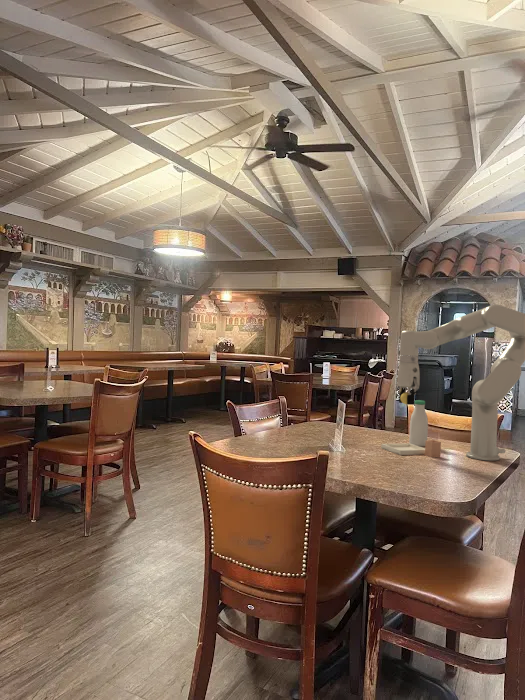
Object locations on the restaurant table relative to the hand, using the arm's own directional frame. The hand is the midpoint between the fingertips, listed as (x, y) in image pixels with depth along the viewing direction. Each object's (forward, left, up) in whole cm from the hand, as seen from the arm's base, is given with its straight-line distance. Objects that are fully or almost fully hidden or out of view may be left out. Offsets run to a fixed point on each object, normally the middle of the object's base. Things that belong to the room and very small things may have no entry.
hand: (406, 403), depth 214 cm
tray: (0, 0, -20) cm, 20 cm away
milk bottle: (-15, -12, -20) cm, 28 cm away
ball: (0, 0, -1) cm, 1 cm away
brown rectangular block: (-6, +11, -20) cm, 23 cm away
